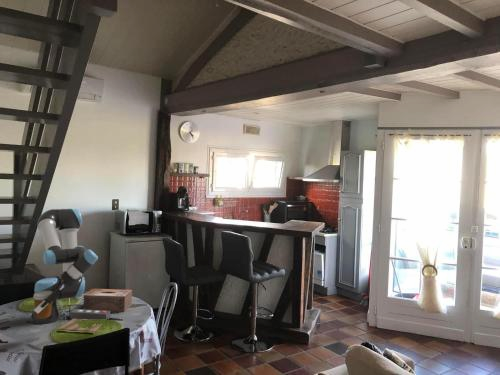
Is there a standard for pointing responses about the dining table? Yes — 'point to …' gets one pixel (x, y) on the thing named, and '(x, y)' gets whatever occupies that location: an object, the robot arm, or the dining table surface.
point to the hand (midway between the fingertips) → (36, 308)
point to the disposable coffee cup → (39, 299)
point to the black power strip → (91, 314)
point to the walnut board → (74, 326)
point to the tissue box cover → (108, 300)
